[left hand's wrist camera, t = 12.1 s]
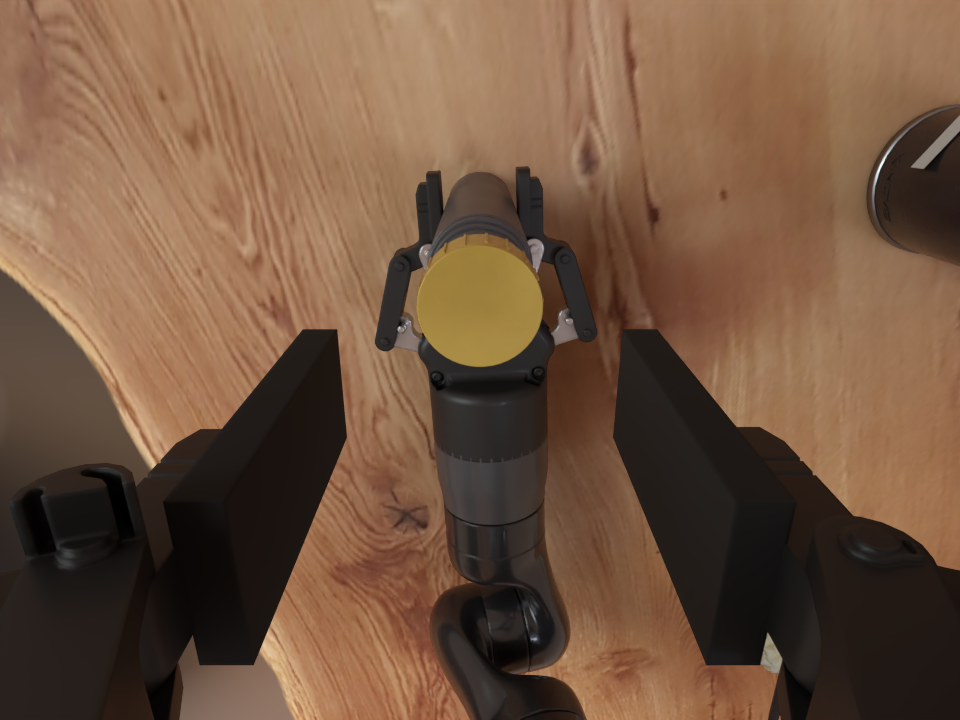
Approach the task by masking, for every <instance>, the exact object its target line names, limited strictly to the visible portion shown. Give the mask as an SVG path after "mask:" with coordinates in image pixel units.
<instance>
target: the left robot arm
mask: <svg viewBox="0 0 960 720" xmlns="http://www.w3.org/2000/svg"><path fill="white" fill-rule="evenodd" d="M346 438H347V434H346V423H345V412H344V401H343V390H342V379H341V368H340V357H339V346H338V335H337V329H303V330H302V331H301V333H300V334H299V335H298V336H297V338H296V339H295V340H294V341H293V342H292V344H291V345H290V346H289V347H288V349H287V350H286V351H285V352H284V353H283V355H282V356H281V357H280V358H279V360H278V361H277V362H276V363H275V365H274V366H273V367H272V368H271V369H270V371H269V372H268V373H267V374H266V376H265V377H264V378H263V379H262V380H261V382H260V383H259V384H258V385H257V387H256V388H255V389H254V390H253V392H252V393H251V394H250V395H249V396H248V398H247V399H246V400H245V401H244V403H243V404H242V405H241V406H240V407H239V409H238V410H237V411H236V412H235V414H234V415H233V416H232V417H231V419H230V420H229V421H228V422H227V423H226V425H225V426H224V427H223V428H222V429H200V430H198V431H197V432H195V433H193V434H191V435H190V436H188V437H186V438H185V439H183V440H181V441H179V442H178V443H176V444H175V445H174V446H173V447H172V448H171V449H170V451H169V452H168V453H167V454H166V455H165V456H164V457H163V458H162V459H161V463H158V464H157V465H156V466H155V467H154V468H153V469H152V470H151V471H150V472H149V473H148V478H144V479H143V480H142V481H141V482H140V483H139V484H138V485H137V487H136V486H135V482H134V478H133V474H132V472H131V471H129V470H128V469H127V468H125V467H124V466H121V465H114V464H109V463H100V464H85V465H81V466H76V467H72V468H67V469H63V470H60V471H57V472H55V473H52V474H50V475H47V476H45V477H42V478H39V479H38V480H36V481H34V482H32V483H31V484H29V485H27V486H26V487H24V488H22V489H20V490H19V491H18V492H17V493H16V494H15V495H14V496H13V497H12V498H11V499H10V500H9V501H8V505H9V508H10V511H11V514H12V516H13V520H14V522H15V525H16V528H17V531H18V534H19V537H20V540H21V543H22V546H23V549H24V552H25V555H26V558H27V560H26V562H25V564H24V566H23V568H22V569H19V570H15V571H10V572H5V573H0V720H179V717H180V710H181V702H182V694H183V682H182V675H181V671H180V667H179V663H178V661H179V659H180V657H181V655H182V653H183V651H184V650H185V648H186V646H187V644H188V642H189V641H190V639H191V637H192V635H193V637H194V642H195V646H196V651H197V655H198V660H199V664H200V665H254V663H255V660H256V658H257V656H258V653H259V651H260V648H261V646H262V643H263V641H264V638H265V636H266V634H267V631H268V629H269V626H270V624H271V621H272V619H273V616H274V614H275V612H276V609H277V607H278V604H279V602H280V599H281V597H282V594H283V592H284V590H285V587H286V585H287V582H288V580H289V577H290V575H291V573H292V570H293V568H294V565H295V563H296V560H297V558H298V555H299V553H300V551H301V548H302V546H303V543H304V541H305V538H306V536H307V533H308V531H309V529H310V526H311V524H312V521H313V519H314V516H315V514H316V511H317V509H318V507H319V504H320V502H321V499H322V497H323V494H324V492H325V489H326V487H327V485H328V482H329V480H330V477H331V475H332V472H333V470H334V467H335V465H336V463H337V460H338V458H339V455H340V453H341V450H342V448H343V446H344V443H345V441H346ZM613 438H614V441H615V443H616V446H617V448H618V450H619V453H620V455H621V458H622V460H623V463H624V465H625V467H626V470H627V472H628V475H629V477H630V480H631V482H632V485H633V487H634V489H635V492H636V494H637V497H638V499H639V502H640V504H641V507H642V509H643V511H644V514H645V516H646V519H647V521H648V524H649V526H650V529H651V531H652V533H653V536H654V538H655V541H656V543H657V546H658V548H659V551H660V553H661V555H662V558H663V560H664V563H665V565H666V568H667V570H668V573H669V575H670V577H671V580H672V582H673V585H674V587H675V590H676V592H677V594H678V597H679V599H680V602H681V604H682V607H683V609H684V612H685V614H686V616H687V619H688V621H689V624H690V626H691V629H692V631H693V634H694V636H695V638H696V641H697V643H698V646H699V648H700V651H701V653H702V656H703V658H704V660H705V663H706V665H760V664H761V660H762V655H763V651H764V646H765V642H766V638H767V633H768V634H769V636H770V637H771V639H772V641H773V643H774V645H775V646H776V648H777V650H778V652H779V654H780V655H781V657H782V663H781V667H780V671H779V675H778V679H777V683H776V687H775V691H774V696H773V700H772V704H771V708H770V712H769V717H768V720H778V719H779V716H781V720H960V571H959V570H954V569H949V568H944V567H941V566H937V564H936V563H935V561H934V559H933V557H932V556H931V555H930V554H929V552H928V551H927V550H926V549H925V548H924V546H923V545H922V544H920V543H919V542H917V541H916V540H915V539H913V538H912V537H910V536H909V535H907V534H906V533H904V532H902V531H900V530H898V529H896V528H893V527H891V526H889V525H887V524H885V523H882V522H878V521H874V520H871V519H867V518H863V517H856V516H853V515H852V514H851V513H850V512H849V511H848V510H847V508H846V507H845V506H844V505H843V504H842V503H841V502H840V501H839V500H838V499H837V498H836V497H835V496H834V494H833V493H832V492H831V491H830V490H829V489H828V488H827V487H826V486H825V485H824V484H823V483H822V481H821V480H820V479H819V478H818V477H817V476H816V475H813V474H812V473H813V472H812V471H811V470H810V468H809V467H808V466H807V465H806V464H805V463H804V462H803V461H800V458H799V457H798V456H797V454H796V453H795V452H794V451H793V450H792V449H791V448H790V447H789V446H788V445H787V444H786V443H785V441H783V440H781V439H779V438H778V437H776V436H774V435H773V434H771V433H769V432H767V431H766V430H764V429H762V428H760V427H736V426H735V425H734V423H733V422H732V421H731V420H730V419H729V417H728V416H727V415H726V414H725V412H724V411H723V410H722V409H721V407H720V406H719V405H718V404H717V403H716V401H715V400H714V399H713V398H712V396H711V395H710V394H709V393H708V392H707V390H706V389H705V388H704V387H703V385H702V384H701V383H700V382H699V380H698V379H697V378H696V377H695V376H694V374H693V373H692V372H691V371H690V369H689V368H688V367H687V366H686V365H685V363H684V362H683V361H682V360H681V358H680V357H679V356H678V355H677V353H676V352H675V351H674V350H673V349H672V347H671V346H670V345H669V344H668V342H667V341H666V340H665V339H664V338H663V336H662V335H661V334H660V333H659V331H658V330H657V329H623V335H622V346H621V357H620V368H619V379H618V390H617V401H616V412H615V423H614V434H613Z"/></svg>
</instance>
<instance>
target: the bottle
mask: <svg viewBox="0 0 960 720" xmlns="http://www.w3.org/2000/svg"><path fill="white" fill-rule="evenodd" d="M485 233H488V235H493V236H497V237H500V238H503V239H506V238H507V239H508V241H509V242H511V243H512V244H514V245H515V246H516V247H518V248H519V249H520V250H521V251H524V252H525V254H526V257H527V258H528V259H529V261H530V263H531V264H532V266H533V260H532V254H531V250H530V247H529V245H528V242H527V239H526V236H525V234H524V231H523V228H522V226H521V223H520V220H519V217H518V215H517V212H516V209H515V206H514V204H513V201H512V198H511V195H510V193H509V190H508V189H507V187H506V185H505V184H504V183H503V182H502V181H501V180H500V179H499V178H498V177H496V176H494V175H492V174H489V173H485V172H475V173H471V174H468V175H466V176H464V177H462V178H461V179H460V180H459V181H458V182H457V183H456V184H455V185H454V187H453V189H452V190H451V193H450V196H449V198H448V201H447V204H446V207H445V209H444V212H443V215H442V217H441V220H440V223H439V226H438V228H437V231H436V234H435V237H434V239H433V242H432V245H431V248H430V250H429V254H428V260H427V266H428V263H429V260H430V258H431V257H432V258H433V257H434V255H435V254H436V253H437V252H438V251H439V250H440V249H441V248H442V247H444V244H445V243H447V244H448V243H449V242H451V241H453V240H455V239H457V238H460V237H463V236H464V234H466V236H467V235H472V234H485Z"/></svg>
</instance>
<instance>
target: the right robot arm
mask: <svg viewBox="0 0 960 720" xmlns="http://www.w3.org/2000/svg"><path fill="white" fill-rule="evenodd" d="M516 199H517V215H518V217H519V220H520V223H521V226H522V228H523V231H524V234H525V236H526V239H527V242H528V245H529V247H530V250H531V254H532V260H533V268H535V269H536V271H537V273H538V269H539V266H540V263H541V261H543V262H546V263H550V264H553V265H554V266H555V270H556V273H557V276H558V279H559V282H560V286H561V289H562V292H563V295H564V299H565V302H566V304H565V305H562V306H560V307H559V308H558V310H557V321H556V323H555V325H554V326H552V327H550V328H549V327H548V326H547V324H546V323H545V322H544V321H543V319H542V320H541V324H540V327H539V329H538V331H537V333H536V335H535V337H534V338H533V340H532V341H531V343H530V344H529V345H528V346H527V347H526V348H525V349H524V350H523V351H522V352H521V353H520V354H518V355H517V356H515V357H514V358H512V359H510V360H508V361H506V362H503V363H501V364H497V365H493V366H486V367H474V366H467V365H463V364H459V363H457V362H454V361H452V360H450V359H448V358H446V357H445V356H443V355H442V354H440V353H439V352H438V351H437V350H436V349H435V348H434V347H433V346H432V345H431V344H430V343H429V341H428V340H427V338H426V337H425V335H424V333H422V334H420V333H418V332H417V331H416V330H415V328H414V320H413V317H412V316H411V315H410V314H408V313H406V312H403V311H404V306H405V301H406V296H407V292H408V287H409V282H410V277H411V272H412V271H415V270H417V269H419V268H422V267H424V270H425V271H426V269H427V260H428V254H429V250H430V248H431V245H432V242H433V239H434V237H435V234H436V231H437V228H438V226H439V223H440V220H441V217H442V215H443V212H444V210H443V196H442V182H441V172H440V171H428V172H427V174H426V182H421V183H420V184H419V185H418V188H417V192H416V204H417V216H418V227H419V241H418V242H417V243H416V244H414V245H412V246H409V247H407V248H401V249H399V250H397V251H396V253H395V255H394V257H393V258H392V259H391V261H390V263H389V268H388V274H387V279H386V285H385V290H384V295H383V301H382V306H381V311H380V317H379V322H378V328H377V333H376V338H375V344H376V346H377V348H378V349H380V350H382V351H389V350H391V349H392V348H393V347H397V348H402V349H406V350H411V351H415V352H418V353H419V356H420V358H421V360H422V361H423V362H424V364H425V365H426V367H427V370H428V374H429V385H430V396H431V407H432V418H433V430H434V440H435V452H436V463H437V472H438V477H439V482H440V486H441V489H442V494H443V500H444V510H445V522H446V536H447V546H448V553H449V557H450V560H451V563H452V565H453V567H454V568H455V570H456V571H457V572H458V573H459V574H460V575H461V576H462V577H464V578H466V579H467V580H469V581H471V582H473V583H468V584H463V585H459V586H455V587H452V588H450V589H448V590H446V591H445V592H443V593H442V594H441V595H440V597H439V598H438V599H437V601H436V603H435V604H434V607H433V609H432V612H431V616H430V623H429V630H430V639H431V643H432V647H433V650H434V653H435V656H436V658H437V660H438V662H439V664H440V666H441V668H442V671H443V672H444V674H445V676H446V678H447V679H448V681H449V683H450V684H451V686H452V688H453V689H454V691H455V693H456V694H457V696H458V698H459V699H460V701H461V703H462V705H463V706H464V708H465V710H466V712H467V714H468V716H469V718H470V720H587V719H586V716H585V714H584V711H583V709H582V706H581V704H580V702H579V700H578V698H577V696H576V694H575V693H574V691H573V690H572V689H571V688H570V687H569V685H567V684H566V683H565V682H563V681H561V680H559V679H557V678H553V677H549V676H539V675H519V674H524V673H526V672H532V671H536V670H540V669H544V668H547V667H549V666H552V665H553V664H555V663H556V662H557V661H558V660H559V659H560V658H561V657H562V656H563V654H564V653H565V651H566V649H567V646H568V643H569V640H570V622H569V617H568V614H567V610H566V607H565V604H564V602H563V599H562V596H561V594H560V592H559V589H558V587H557V584H556V581H555V579H554V576H553V573H552V569H551V566H550V562H549V558H548V553H547V548H546V541H545V512H544V494H545V483H546V477H547V468H548V446H547V443H548V438H547V364H548V361H549V358H550V356H551V355H552V353H553V351H554V348H555V345H558V344H562V343H565V342H568V341H571V340H574V339H577V338H579V339H580V340H581V341H583V342H590V341H592V340H594V339H595V337H596V336H597V329H596V325H595V322H594V318H593V315H592V312H591V308H590V305H589V301H588V298H587V294H586V291H585V288H584V284H583V281H582V277H581V274H580V271H579V267H578V264H577V260H576V257H575V254H574V252H573V251H572V249H571V248H570V246H569V245H568V244H567V243H566V242H565V241H558V240H555V239H551V238H549V237H547V236H545V235H544V233H543V188H542V186H541V183H540V181H539V179H538V178H537V177H530V168H529V167H528V166H526V167H516ZM867 208H868V213H869V216H870V219H871V222H872V224H873V226H874V227H875V229H876V231H877V232H878V233H879V234H880V235H881V236H882V238H883V239H885V240H886V241H887V242H889V243H890V244H892V245H893V246H896V247H898V248H900V249H903V250H907V251H910V252H914V253H920V254H924V255H927V256H930V257H933V258H936V259H939V260H942V261H945V262H948V263H951V264H954V265H957V266H960V105H949V106H944V107H940V108H936V109H933V110H931V111H928V112H926V113H924V114H922V115H920V116H918V117H917V118H915V119H913V120H912V121H910V122H909V123H908V124H906V125H905V126H904V127H903V128H901V129H900V130H899V131H898V132H897V133H896V134H895V135H894V136H893V137H892V138H891V139H890V141H889V142H888V143H887V144H886V146H885V147H884V148H883V150H882V151H881V153H880V155H879V156H878V158H877V160H876V162H875V164H874V167H873V169H872V172H871V175H870V178H869V182H868V188H867Z"/></svg>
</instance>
